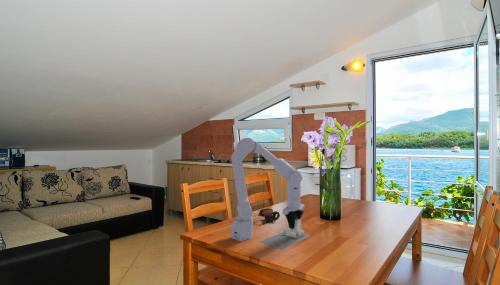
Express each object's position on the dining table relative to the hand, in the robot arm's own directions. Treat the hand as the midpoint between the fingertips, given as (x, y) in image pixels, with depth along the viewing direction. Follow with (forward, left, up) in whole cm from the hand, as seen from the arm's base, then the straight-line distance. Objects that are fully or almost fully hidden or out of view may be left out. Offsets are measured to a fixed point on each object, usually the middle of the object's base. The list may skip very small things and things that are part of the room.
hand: (293, 227), depth 132 cm
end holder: (0, 0, -4) cm, 4 cm away
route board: (-6, 0, -4) cm, 7 cm away
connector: (0, -1, -2) cm, 2 cm away
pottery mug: (+11, +23, -5) cm, 26 cm away
